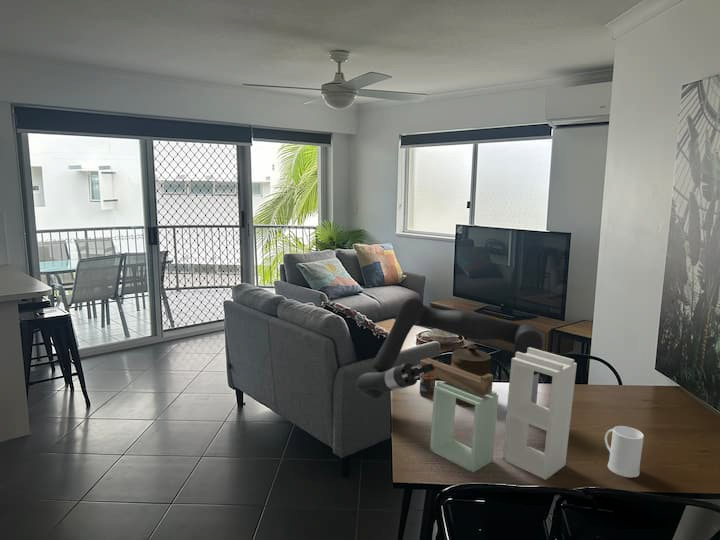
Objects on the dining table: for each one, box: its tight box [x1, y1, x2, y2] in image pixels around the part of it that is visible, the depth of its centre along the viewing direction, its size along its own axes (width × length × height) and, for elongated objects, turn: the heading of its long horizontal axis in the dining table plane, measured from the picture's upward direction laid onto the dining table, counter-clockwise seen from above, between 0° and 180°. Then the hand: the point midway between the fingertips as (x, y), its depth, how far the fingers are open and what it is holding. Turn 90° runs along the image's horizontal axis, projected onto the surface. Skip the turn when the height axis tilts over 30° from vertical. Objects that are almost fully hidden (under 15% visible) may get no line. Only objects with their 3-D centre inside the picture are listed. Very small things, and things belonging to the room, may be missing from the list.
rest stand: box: [429, 381, 499, 473], centre depth 157 cm, size 10×16×22 cm, turn 43°
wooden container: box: [450, 343, 492, 408], centre depth 199 cm, size 15×15×22 cm
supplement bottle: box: [419, 374, 437, 398], centre depth 203 cm, size 6×6×11 cm
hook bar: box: [419, 357, 494, 396], centre depth 158 cm, size 4×24×5 cm, turn 43°
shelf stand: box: [501, 347, 578, 481], centre depth 154 cm, size 12×14×34 cm
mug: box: [604, 425, 645, 478], centre depth 155 cm, size 12×8×12 cm
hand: (437, 365), depth 162 cm, fingers closed on hook bar, 4 cm apart
